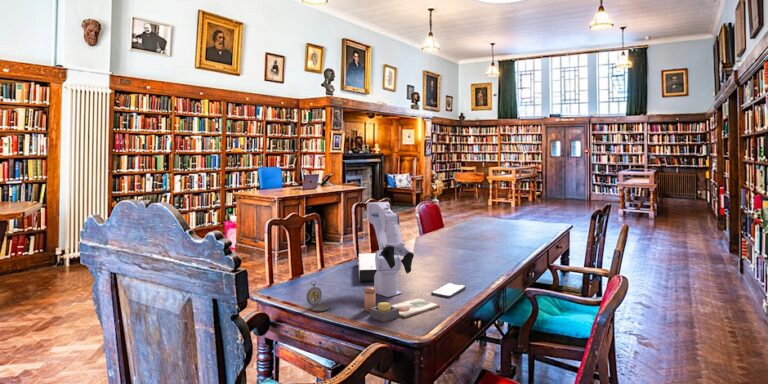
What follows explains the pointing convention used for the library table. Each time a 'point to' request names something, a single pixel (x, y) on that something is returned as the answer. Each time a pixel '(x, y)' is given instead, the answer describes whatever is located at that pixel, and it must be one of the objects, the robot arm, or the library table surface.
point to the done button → (384, 306)
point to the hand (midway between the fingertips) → (400, 269)
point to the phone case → (448, 290)
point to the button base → (384, 314)
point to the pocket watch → (316, 299)
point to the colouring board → (414, 307)
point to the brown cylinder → (369, 298)
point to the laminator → (367, 267)
